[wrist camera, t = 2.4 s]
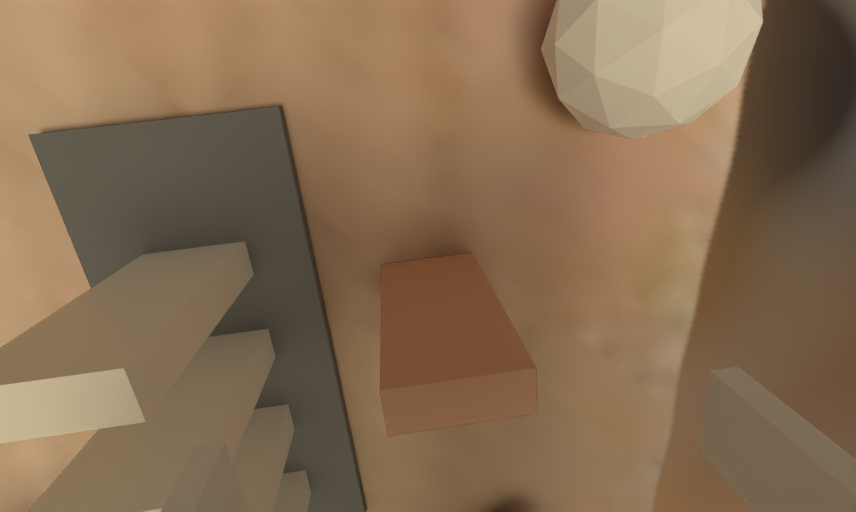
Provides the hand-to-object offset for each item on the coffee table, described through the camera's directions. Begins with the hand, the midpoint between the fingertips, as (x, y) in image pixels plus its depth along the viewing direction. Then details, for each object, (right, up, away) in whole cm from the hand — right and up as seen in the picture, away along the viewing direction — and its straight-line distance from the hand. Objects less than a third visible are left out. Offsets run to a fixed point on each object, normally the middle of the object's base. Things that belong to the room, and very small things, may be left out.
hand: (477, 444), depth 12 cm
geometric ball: (+7, +15, +10) cm, 19 cm away
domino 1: (-13, +5, +10) cm, 17 cm away
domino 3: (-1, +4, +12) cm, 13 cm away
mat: (-12, -1, +13) cm, 18 cm away
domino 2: (-12, 0, +12) cm, 17 cm away
